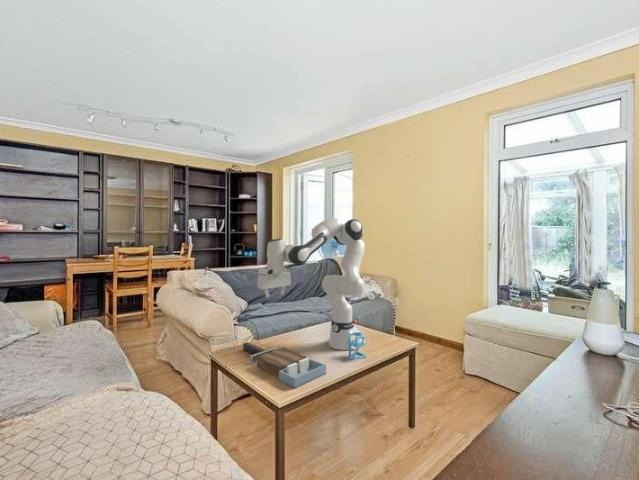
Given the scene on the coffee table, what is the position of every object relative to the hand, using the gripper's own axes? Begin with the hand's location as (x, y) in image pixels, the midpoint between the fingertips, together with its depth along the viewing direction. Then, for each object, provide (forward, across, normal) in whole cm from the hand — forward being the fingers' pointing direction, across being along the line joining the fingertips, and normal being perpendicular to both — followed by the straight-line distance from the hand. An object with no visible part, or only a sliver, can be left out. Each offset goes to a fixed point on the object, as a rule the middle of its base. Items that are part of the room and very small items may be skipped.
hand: (274, 296), depth 167 cm
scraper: (+29, +10, -3) cm, 31 cm away
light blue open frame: (+29, -25, +35) cm, 52 cm away
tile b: (+26, +14, +28) cm, 41 cm away
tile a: (+26, +6, +28) cm, 39 cm away
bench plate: (+29, +10, +18) cm, 36 cm away
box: (+29, +10, +32) cm, 44 cm away
